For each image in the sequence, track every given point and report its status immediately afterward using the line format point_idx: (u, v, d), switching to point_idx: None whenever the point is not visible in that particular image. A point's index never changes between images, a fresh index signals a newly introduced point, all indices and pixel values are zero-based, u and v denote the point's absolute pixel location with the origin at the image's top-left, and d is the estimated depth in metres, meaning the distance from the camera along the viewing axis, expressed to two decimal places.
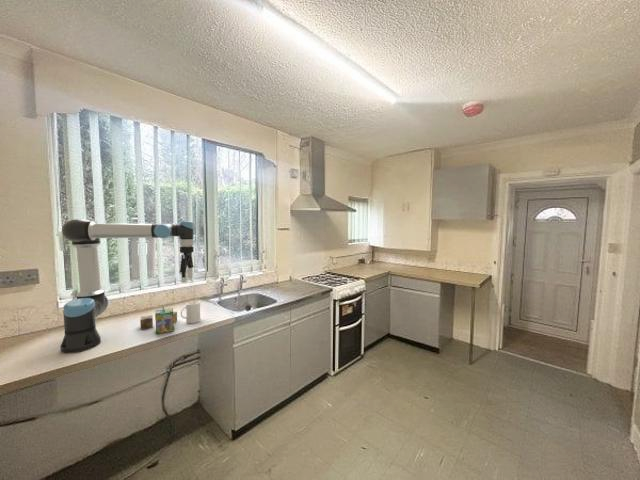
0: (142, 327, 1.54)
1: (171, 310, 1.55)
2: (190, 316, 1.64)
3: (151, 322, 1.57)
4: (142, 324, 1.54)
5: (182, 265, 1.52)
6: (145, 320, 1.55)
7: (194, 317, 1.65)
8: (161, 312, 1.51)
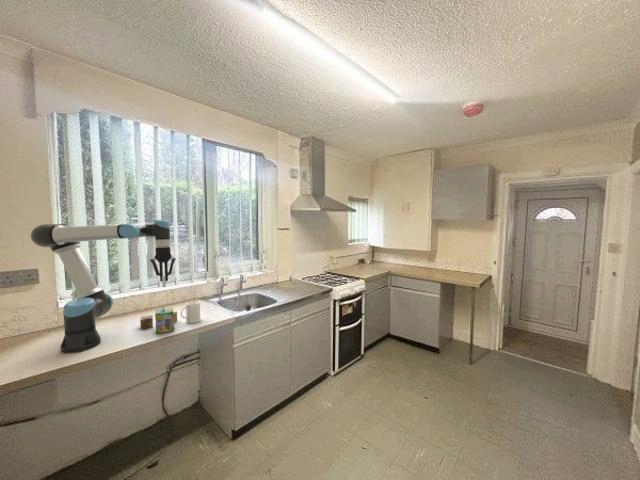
0: (142, 327, 1.54)
1: (171, 310, 1.55)
2: (190, 316, 1.64)
3: (151, 322, 1.57)
4: (142, 324, 1.54)
5: None
6: (145, 320, 1.55)
7: (194, 317, 1.65)
8: (161, 312, 1.51)
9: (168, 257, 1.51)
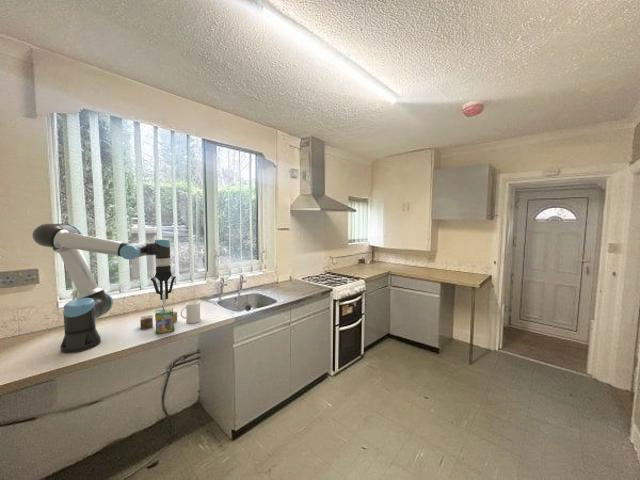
0: (142, 327, 1.54)
1: (171, 309, 1.55)
2: (190, 316, 1.64)
3: (151, 322, 1.57)
4: (142, 324, 1.54)
5: None
6: (145, 320, 1.55)
7: (194, 317, 1.65)
8: (161, 312, 1.51)
9: (168, 275, 1.52)
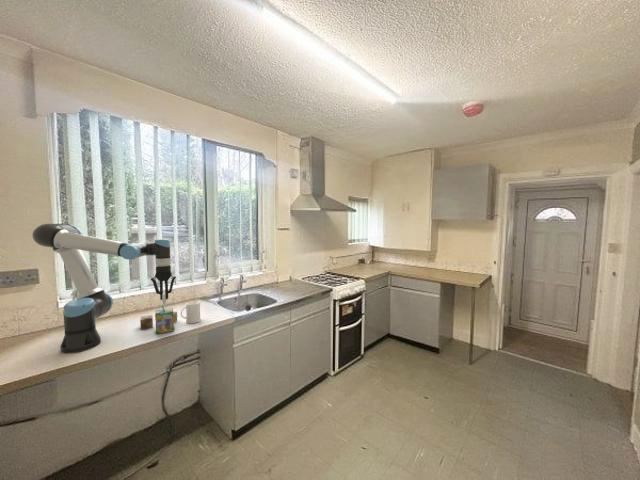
0: (142, 327, 1.54)
1: (171, 309, 1.55)
2: (190, 316, 1.64)
3: (151, 322, 1.57)
4: (142, 324, 1.54)
5: None
6: (145, 320, 1.55)
7: (194, 317, 1.65)
8: (161, 312, 1.51)
9: (168, 275, 1.52)
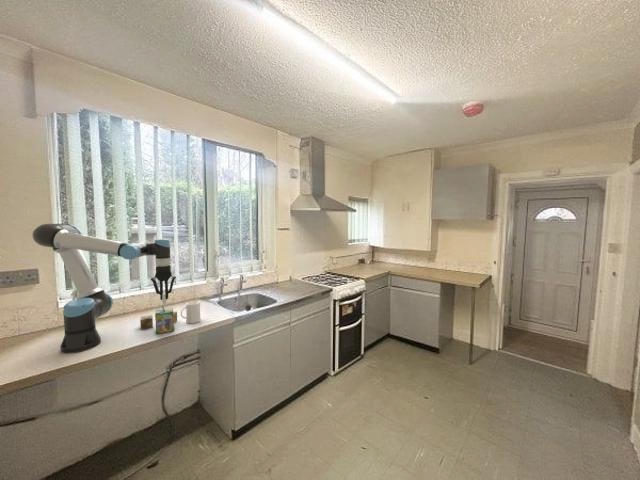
0: (142, 327, 1.54)
1: (171, 309, 1.55)
2: (190, 316, 1.64)
3: (151, 322, 1.57)
4: (142, 324, 1.54)
5: None
6: (145, 320, 1.55)
7: (194, 317, 1.65)
8: (161, 312, 1.51)
9: (168, 275, 1.52)
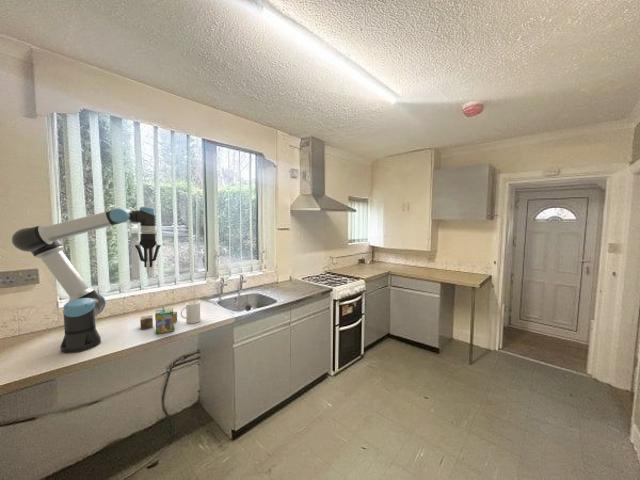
0: (142, 327, 1.54)
1: (171, 310, 1.55)
2: (190, 316, 1.64)
3: (151, 322, 1.57)
4: (142, 324, 1.54)
5: None
6: (145, 320, 1.55)
7: (194, 317, 1.65)
8: (161, 312, 1.51)
9: (153, 243, 1.54)
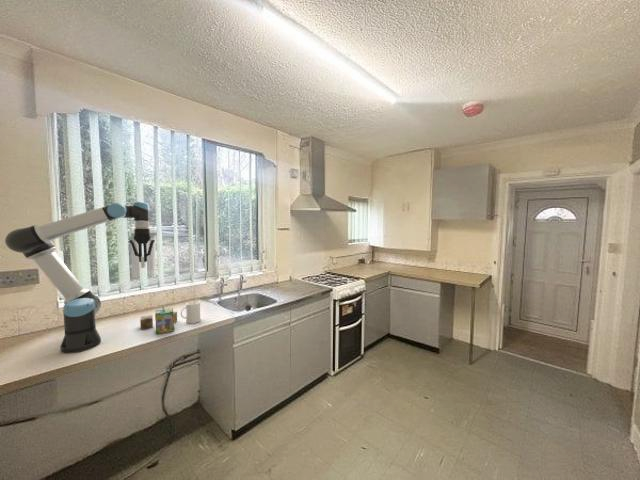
0: (142, 327, 1.54)
1: (171, 310, 1.55)
2: (190, 316, 1.64)
3: (151, 322, 1.57)
4: (142, 324, 1.54)
5: None
6: (145, 320, 1.55)
7: (194, 317, 1.65)
8: (161, 312, 1.51)
9: (147, 238, 1.55)
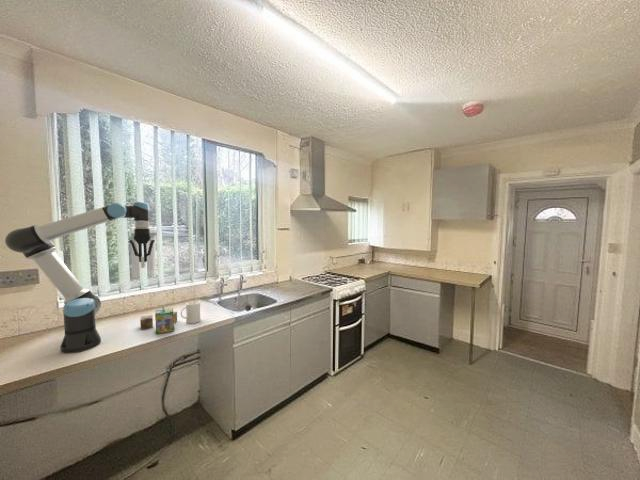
0: (142, 327, 1.54)
1: (171, 310, 1.55)
2: (190, 316, 1.64)
3: (151, 322, 1.57)
4: (142, 324, 1.54)
5: None
6: (145, 320, 1.55)
7: (194, 317, 1.65)
8: (161, 312, 1.51)
9: (147, 238, 1.55)
